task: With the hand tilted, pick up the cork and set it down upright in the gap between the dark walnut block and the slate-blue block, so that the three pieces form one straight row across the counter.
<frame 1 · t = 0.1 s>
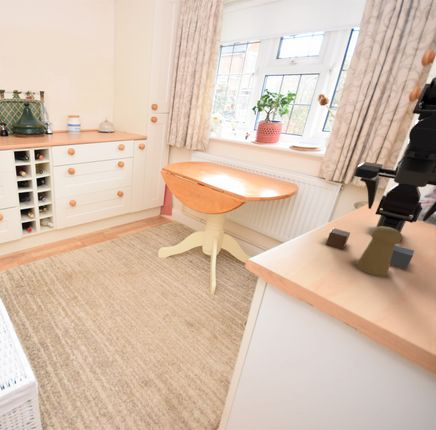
hand: (395, 214, 66), 15 cm above the counter, tool pointing down, fingers open, 9 cm apart
slate block: (396, 263, 74), on the counter
cork: (371, 269, 72), on the counter
walnut block: (335, 244, 83), on the counter
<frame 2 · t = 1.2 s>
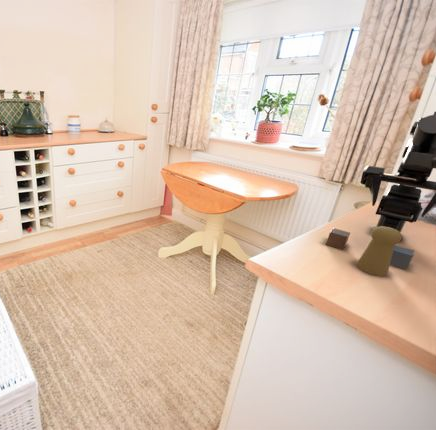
hand: (396, 210, 72), 13 cm above the counter, tool tilted 45°, fingers open, 9 cm apart
nothing on the counter moved.
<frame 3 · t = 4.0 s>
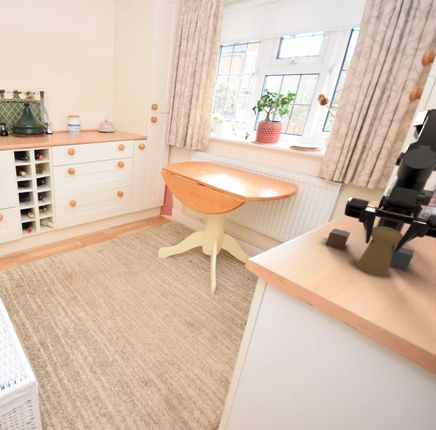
hand: (380, 247, 68), 7 cm above the counter, tool tilted 45°, fingers closed on cork, 5 cm apart
cork: (371, 269, 72), on the counter, touching gripper
everything else where it was.
when the fingers open (7 cm above the counter, at t = 8.7 s): cork stays where it is, on the counter.
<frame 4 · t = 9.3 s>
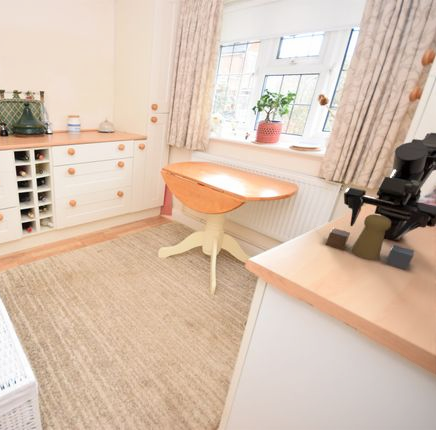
hand: (372, 231, 75), 7 cm above the counter, tool tilted 45°, fingers open, 9 cm apart
cork: (364, 254, 78), on the counter
everything else where it was.
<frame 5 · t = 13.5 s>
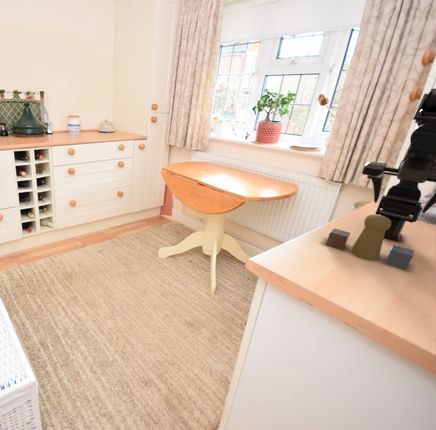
hand: (398, 207, 75), 13 cm above the counter, tool pointing down, fingers open, 9 cm apart
nothing on the counter moved.
at the end: cork 0.0 cm from the target spot, on the counter; cork tilted 0°; slate block moved 0.0 cm from its start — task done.
